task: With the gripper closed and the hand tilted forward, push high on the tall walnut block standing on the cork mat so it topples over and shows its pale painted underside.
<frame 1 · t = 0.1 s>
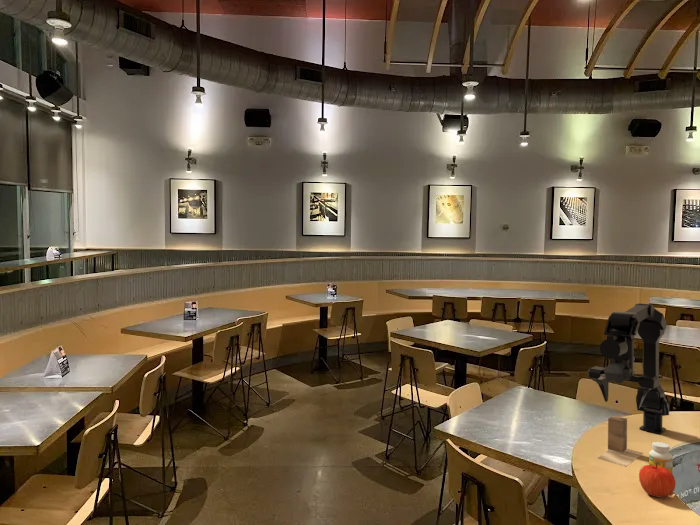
hand: (622, 404, 157), 15 cm above the table, tool pointing down, fingers open, 9 cm apart
supplement bottle: (660, 480, 139), on the table
apple: (656, 495, 131), on the table
walnut block: (617, 450, 157), resting on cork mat
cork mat: (620, 456, 154), on the table
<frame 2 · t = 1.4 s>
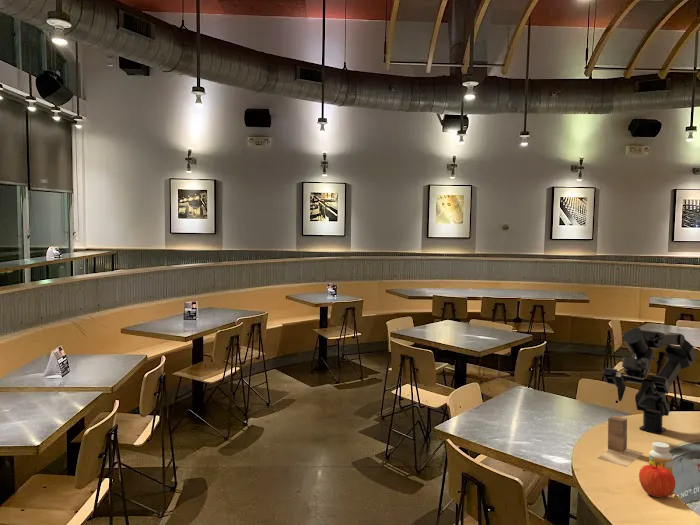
hand: (628, 402, 163), 14 cm above the table, tool tilted 45°, fingers open, 5 cm apart
nothing on the table moved.
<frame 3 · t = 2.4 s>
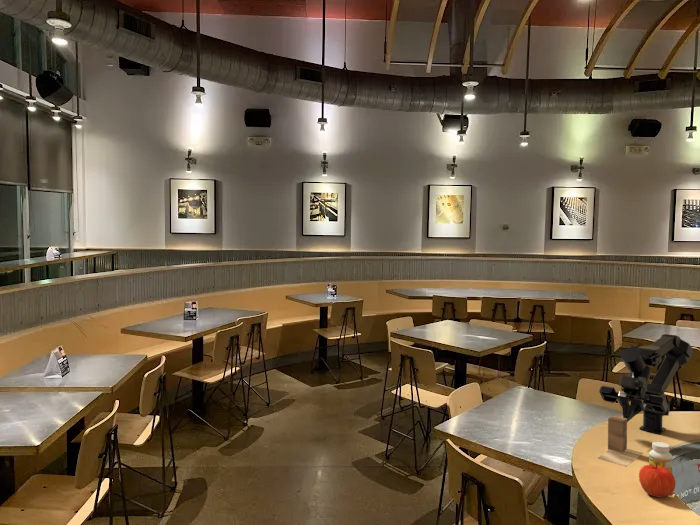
hand: (625, 421, 161), 8 cm above the table, tool tilted 45°, fingers closed
nothing on the table moved.
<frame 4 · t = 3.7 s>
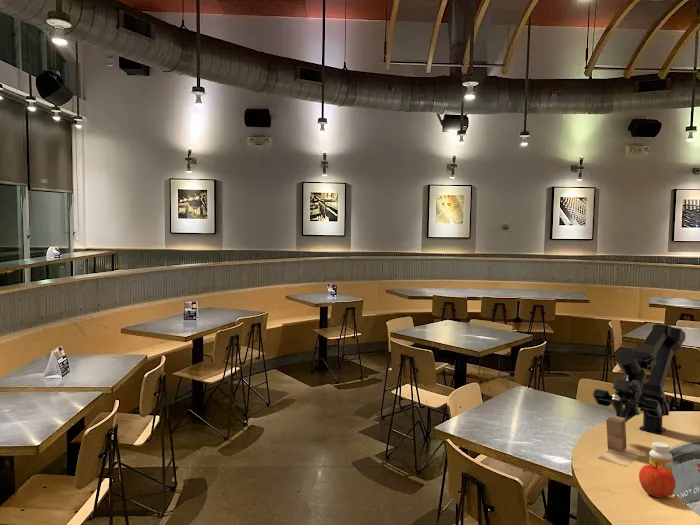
hand: (618, 425, 158), 8 cm above the table, tool tilted 45°, fingers closed, pressing on walnut block
walnut block: (617, 449, 157), point 1 cm above the table, tilted 8°, touching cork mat, gripper
everything else where it was.
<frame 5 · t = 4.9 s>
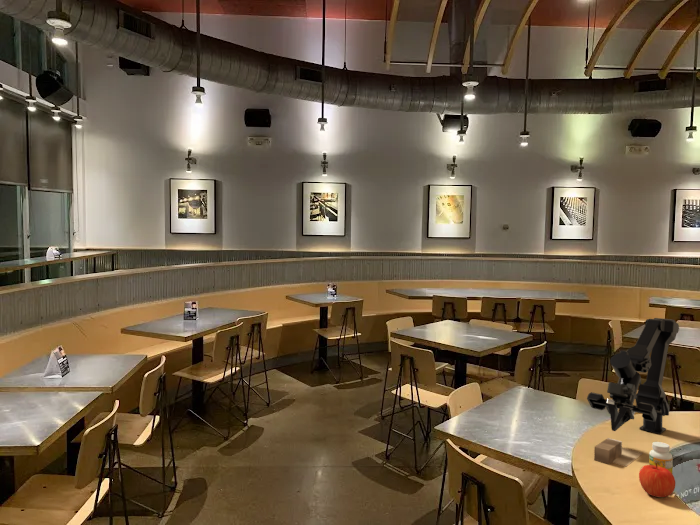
hand: (613, 430, 155), 8 cm above the table, tool tilted 45°, fingers closed
walnut block: (614, 446, 156), point 2 cm above the table, tilted 90°, touching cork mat
everything else where it was.
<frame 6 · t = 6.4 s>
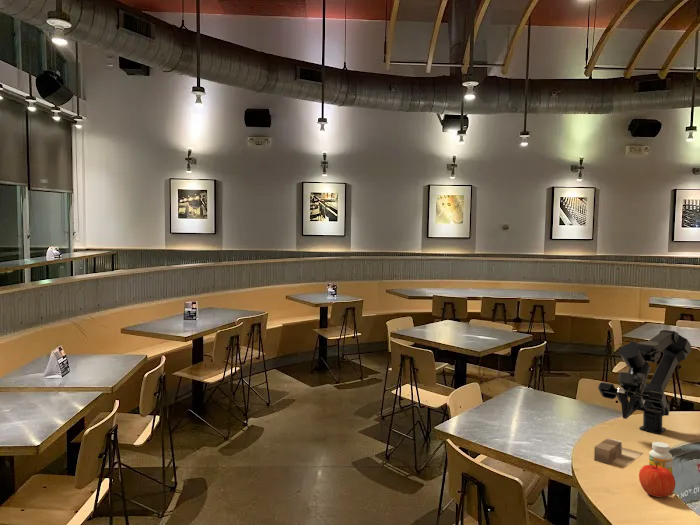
hand: (624, 418, 161), 9 cm above the table, tool tilted 45°, fingers closed
nothing on the table moved.
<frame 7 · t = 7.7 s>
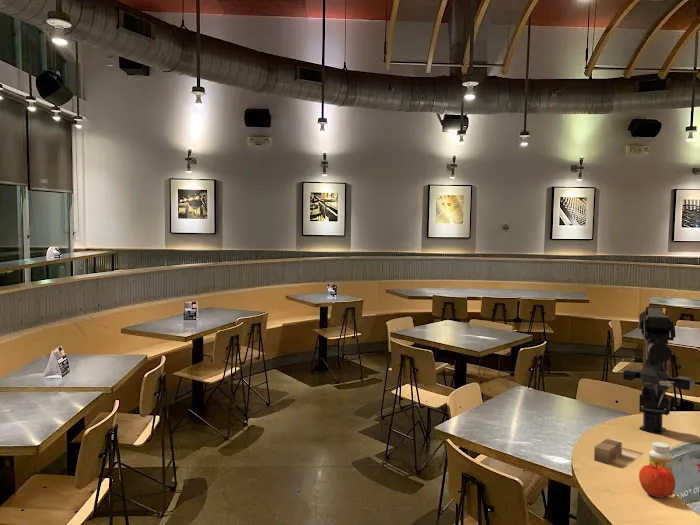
hand: (657, 405, 161), 13 cm above the table, tool pointing down, fingers closed
nothing on the table moved.
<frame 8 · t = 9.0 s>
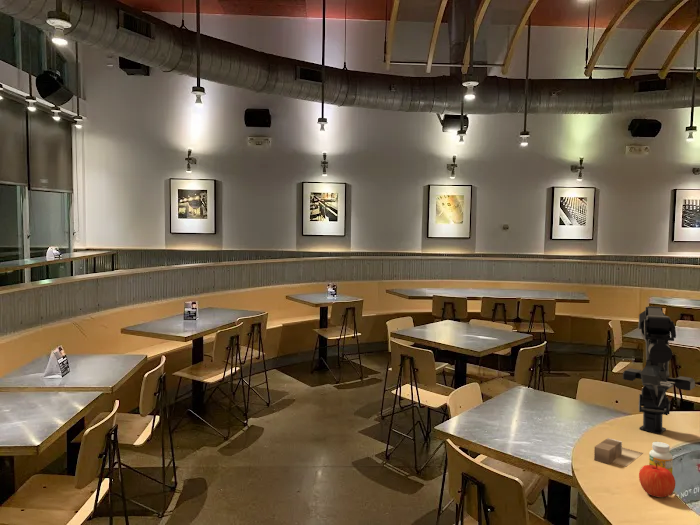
hand: (657, 406, 161), 13 cm above the table, tool pointing down, fingers closed
nothing on the table moved.
at the end: walnut block tilted 90°; walnut block inside the target area (5.1 cm from its centre), point 2.4 cm above the table; the gripper is holding nothing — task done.
